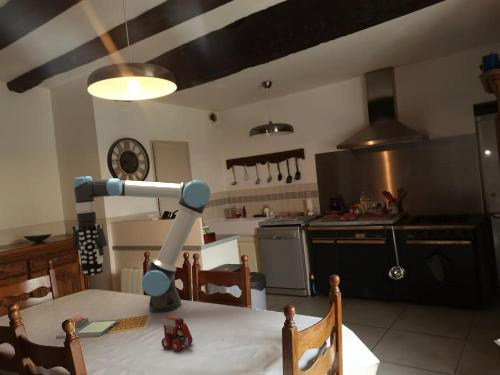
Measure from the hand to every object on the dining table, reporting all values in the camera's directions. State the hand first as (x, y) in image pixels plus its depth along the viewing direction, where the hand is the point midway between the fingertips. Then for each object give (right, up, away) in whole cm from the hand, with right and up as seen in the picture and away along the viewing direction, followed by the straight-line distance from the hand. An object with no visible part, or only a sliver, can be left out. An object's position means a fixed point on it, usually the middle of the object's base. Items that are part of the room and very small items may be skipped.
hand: (91, 263), depth 160 cm
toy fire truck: (+44, -24, -30) cm, 58 cm away
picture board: (0, -28, -3) cm, 28 cm away
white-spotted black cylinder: (0, -5, 0) cm, 5 cm away
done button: (-7, -26, +1) cm, 27 cm away
